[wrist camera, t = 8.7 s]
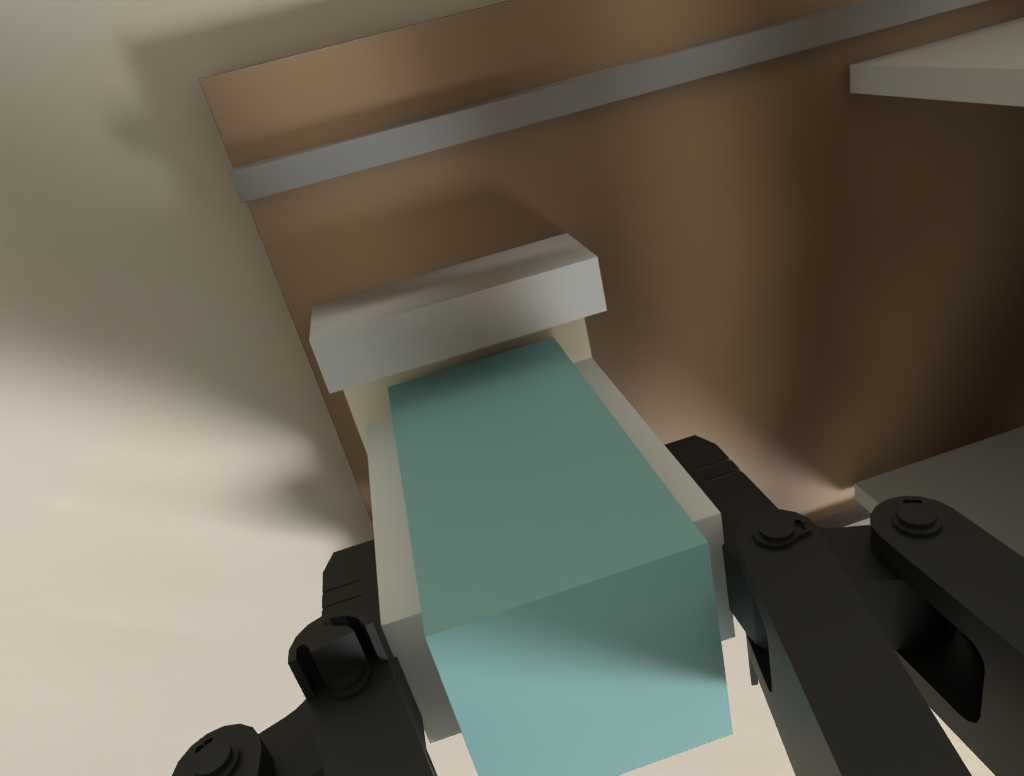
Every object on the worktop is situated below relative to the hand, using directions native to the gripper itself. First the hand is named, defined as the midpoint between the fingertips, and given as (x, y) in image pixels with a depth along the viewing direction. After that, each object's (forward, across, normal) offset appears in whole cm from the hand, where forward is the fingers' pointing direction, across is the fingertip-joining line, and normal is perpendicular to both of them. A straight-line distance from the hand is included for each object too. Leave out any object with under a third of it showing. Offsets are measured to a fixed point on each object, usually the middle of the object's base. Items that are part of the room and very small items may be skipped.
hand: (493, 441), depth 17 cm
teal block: (0, 0, 0) cm, 0 cm away
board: (+2, +8, 0) cm, 9 cm away
